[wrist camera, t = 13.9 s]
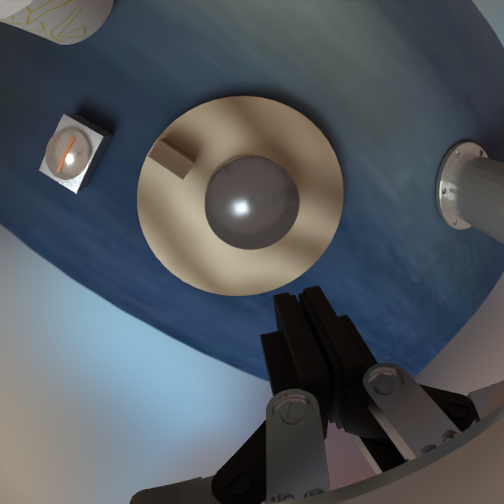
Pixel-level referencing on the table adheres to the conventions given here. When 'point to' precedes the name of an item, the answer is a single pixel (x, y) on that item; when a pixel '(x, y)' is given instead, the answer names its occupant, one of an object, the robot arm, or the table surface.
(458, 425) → the robot arm
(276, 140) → the turntable
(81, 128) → the dial gauge
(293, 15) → the table surface
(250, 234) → the disc
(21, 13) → the cup
